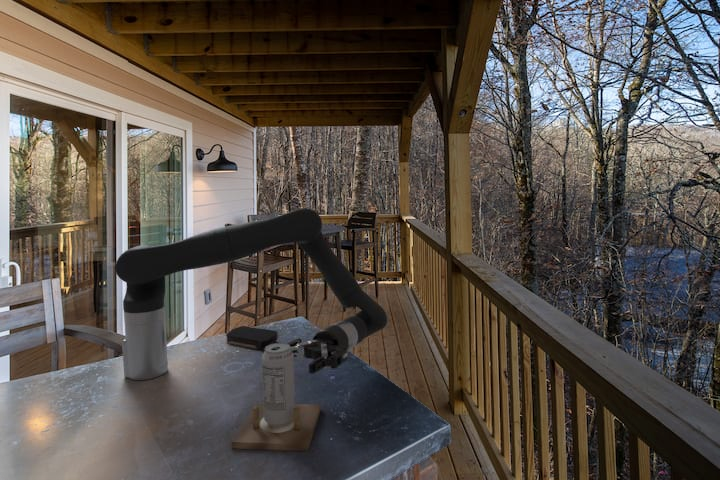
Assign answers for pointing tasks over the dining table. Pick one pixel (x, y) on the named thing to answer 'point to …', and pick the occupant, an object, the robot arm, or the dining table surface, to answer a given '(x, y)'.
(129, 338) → the robot arm
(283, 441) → the pin base
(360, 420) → the dining table surface
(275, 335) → the black sponge
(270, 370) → the energy drink can
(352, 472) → the dining table surface
